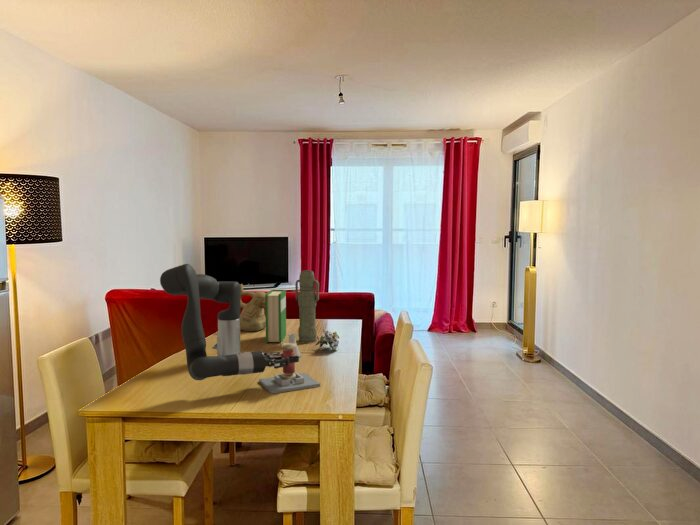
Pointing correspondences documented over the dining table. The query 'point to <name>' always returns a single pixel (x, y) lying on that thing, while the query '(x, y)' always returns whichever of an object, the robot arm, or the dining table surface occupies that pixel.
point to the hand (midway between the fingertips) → (295, 357)
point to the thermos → (307, 305)
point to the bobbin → (289, 370)
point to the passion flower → (329, 340)
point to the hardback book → (275, 315)
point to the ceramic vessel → (253, 311)
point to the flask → (293, 340)
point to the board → (288, 383)
